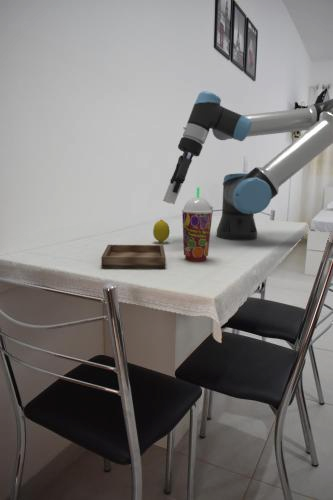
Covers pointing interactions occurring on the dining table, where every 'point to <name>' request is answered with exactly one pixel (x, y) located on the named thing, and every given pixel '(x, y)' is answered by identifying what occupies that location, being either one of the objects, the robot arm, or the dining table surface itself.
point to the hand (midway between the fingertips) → (168, 202)
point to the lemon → (161, 231)
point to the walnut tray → (134, 257)
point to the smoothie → (196, 228)
